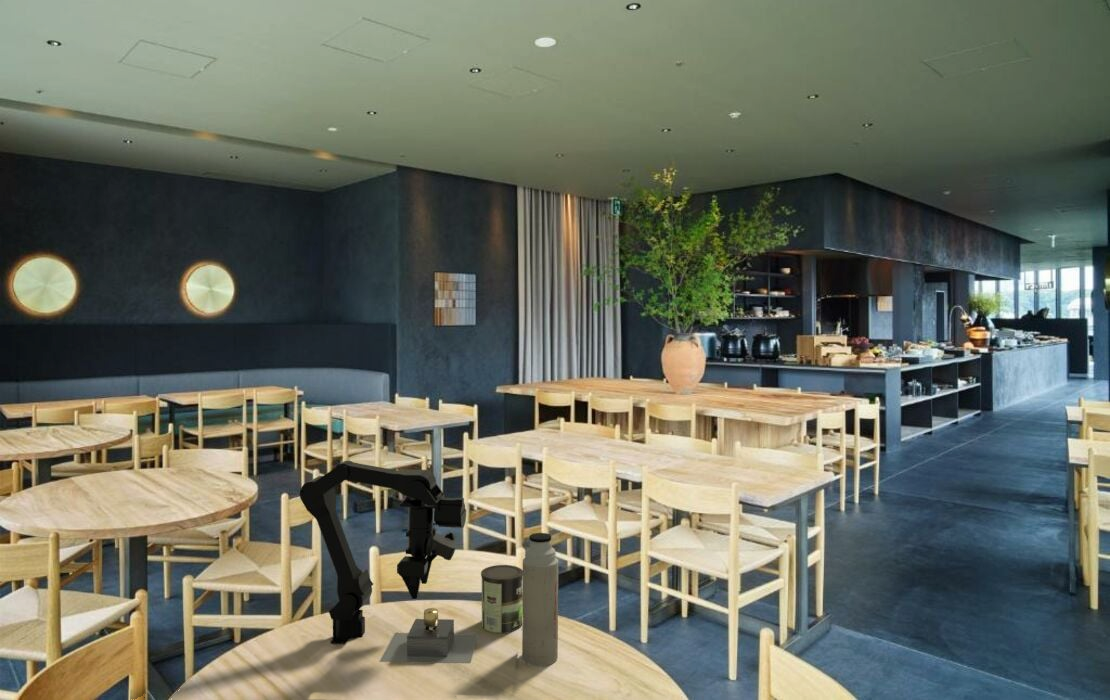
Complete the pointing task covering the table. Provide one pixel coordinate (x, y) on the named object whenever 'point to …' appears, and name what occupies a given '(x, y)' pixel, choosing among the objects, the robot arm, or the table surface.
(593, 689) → the table surface
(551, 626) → the thermos bottle
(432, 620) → the golden knob
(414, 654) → the grey knob block
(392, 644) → the slate board
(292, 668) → the table surface
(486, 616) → the coffee can
